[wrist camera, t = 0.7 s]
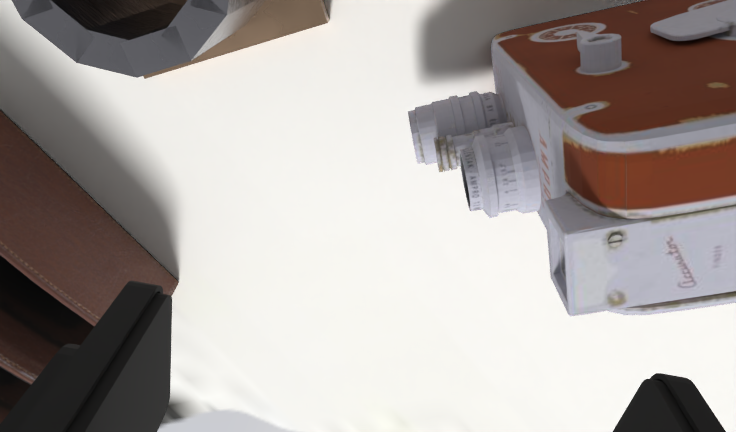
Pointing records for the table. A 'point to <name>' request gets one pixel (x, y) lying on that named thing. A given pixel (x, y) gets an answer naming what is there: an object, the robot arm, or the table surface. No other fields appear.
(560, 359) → the table surface
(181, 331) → the table surface
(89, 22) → the top hat
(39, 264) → the letter holder
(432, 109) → the cine camera
